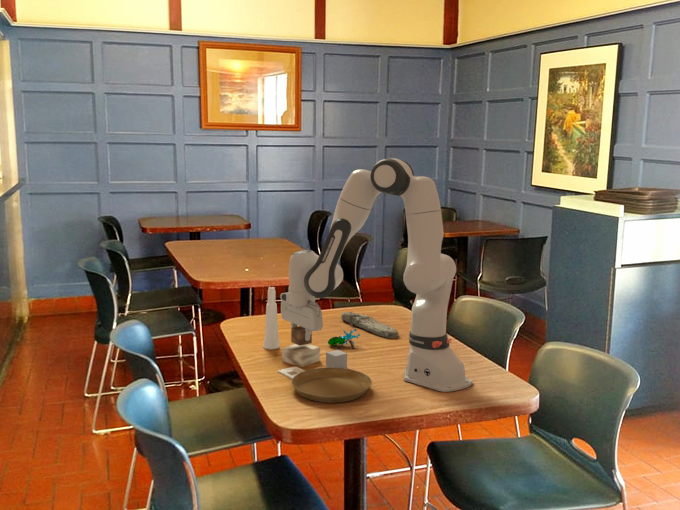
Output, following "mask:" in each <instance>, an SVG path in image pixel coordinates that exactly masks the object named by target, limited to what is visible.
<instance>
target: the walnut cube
mask: <svg viewBox="0 0 680 510" xmlns="http://www.w3.org/2000/svg"><path fill="white" fill-rule="evenodd" d="M297 326H298V327H293V328H292V327H290V328H291V329H290V332H291V333H290V342H291V343H293V344H297V345H299V346H300V345H305V344H310V345H311V344H312V341H313V339H312V337H313V334H312V333H313V332H312V333H311V335H310V340H309V341H306V340H304V335H305V333H306V331H305V328H304V327H301V326H299V325H297Z"/></svg>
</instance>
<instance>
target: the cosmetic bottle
mask: <svg viewBox="0 0 680 510" xmlns="http://www.w3.org/2000/svg"><path fill="white" fill-rule="evenodd" d="M275 288H276V287H274V286H270V287H268V290H267V303H266V307H265V325H264V326H265V327H264V328H265V329H264V340H263V345H262V348H263V349H264V350H278V349H279V348H280V347H281V344H280V339H279V329H278V327H279V326H278V306H277V305H278V304H277V303H276V289H275Z"/></svg>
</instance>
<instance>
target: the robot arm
mask: <svg viewBox="0 0 680 510" xmlns="http://www.w3.org/2000/svg"><path fill="white" fill-rule="evenodd" d="M381 193H382V194H386V195H393V196H396V197H397V196H398V197H401V199H402V200H403V204H404V212H405V220H406V229H407V242H408V243H407V255H406V256H407V257H406V266H405V268H404V272H403V284H404V286H405V287H406V289H407V290H408V291H409V292H411V293H413V294H415V295H416V296H415V299H414V302H413V304H412V307H411V317H410V318H411V319H410V321H411V323H410V331H409V334H408V342H409V348H408V349H409V350H408V355H407V362H406V366H405V370H404V373H403V374H404V377H403V381H405V382H408V383H412V384H415V385H418V386H421V387H424V388H425V387H426V388H427V389H428V388H429V389H432V390H435V391H439V392H442V393H444V392H447V393H449V392H455V391H459V390H463V389H467V388H468V387H471V386H472V384H473V379H471V378H469V377H467V376H466V368H465V365H464V362H463V361H462V360H461V359H460V358H459V357H458V355H457V354H456V353H455V352H454V350H453V349H452V348H451V347H450V343H453V341H452V340H453V338H448V334H447V315H448V314H447V313H448V306H449V302H450V296H451V293H452V288H453V287H452V286H453V282H454V277H455V275H456V273H457V266H456V262H455V260H454V259H453V258H452V257H451V256H450V255H447V254H444V253H442V252H441V251H442V244H443V240H444V235H445V233H444V223H443V216H442V210H441V209H442V207H441V202H440V198H439V192H438V188H437V185H436V182H435V181H434V180H433V179H432V178H431V177H428V176H423V175H421V176H418V175H417V176H416V175H415V173H414V169H413V168H412V166H411V165H410V164H409V163H408V162H406V161H405V160H402V159H399V158H396V157H395V158H394V157H393V158H392V157H391V158H384V159H383V158H382V159H380V160H379V161H377V162H376V163H375V164H374V165H373V167H372V168H371V170H367V169H363V168H362V169H361V168H360V169H356V170H353V171H352V172H351V173H350V175H349V176H348V178H347V180H346V182H345V183H344V185H343V187H342V190H341V191H340V195H339V197H338V200H337V202H336V206H335V209H334V213H333V218H332V221H331V225H330V228H329V232H328V234H327V237H326V239H325V242H324V244H323V246H322V249H321V252H320V254H319V255H318V254H317V253H315V251H313V250H312V249H303V250H298V251H296V252H294V253H292V254H291V255H290V258H289V262H288V263H289V264H288V280H289V285H288V292H282V293H280V297H279V298H280V300H281V301H280V316H281V318H282V320H284V321H286V322H289V323H290V328H293V327H298V326H301V327H304V328H305V331H306V333H305V335H304V340H306V341H309V340H310V335H311V333H313V332H318V331H321V330H322V329H323V327H324V323H323V313H322V311H323V310H322V309H321V307H320V305H319V304H318V302H316V298H317V299H323V298H327V297H329V296H330V295H331V294H332V293H333V291H334V290H335V289H337V287H339V285H340V284H341V283H342V281H343V279H344V276H345V275H344V270H343V267H342V266H341V265H340V264H339V262H340V259H341V256H342V254H343V252H344V250H345V247H346V246H347V244H348V243H349V241H350V240H351V238H353V236H355V234H357V233H358V231H360V230H361V229H362V228H363V227H364V225H365V224H366V221H367V219H368V218H369V216H370V214H371V211H372V208H373V206H374V204H375V201H376V199H377V197H378V196H379V195H380V194H381Z"/></svg>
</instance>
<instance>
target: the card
mask: <svg viewBox="0 0 680 510" xmlns="http://www.w3.org/2000/svg"><path fill="white" fill-rule="evenodd" d="M304 371H305V369H302V368H300V367H299V366H297V365H294V366H292V367H287V368H282V369H278V370H277V372H278V373H279V374H281V375H283V376H285V377H286V378H289V379H291V380H292V379H293V377H294V376H296V375H297V374H299V373H301V372H304Z"/></svg>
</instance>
